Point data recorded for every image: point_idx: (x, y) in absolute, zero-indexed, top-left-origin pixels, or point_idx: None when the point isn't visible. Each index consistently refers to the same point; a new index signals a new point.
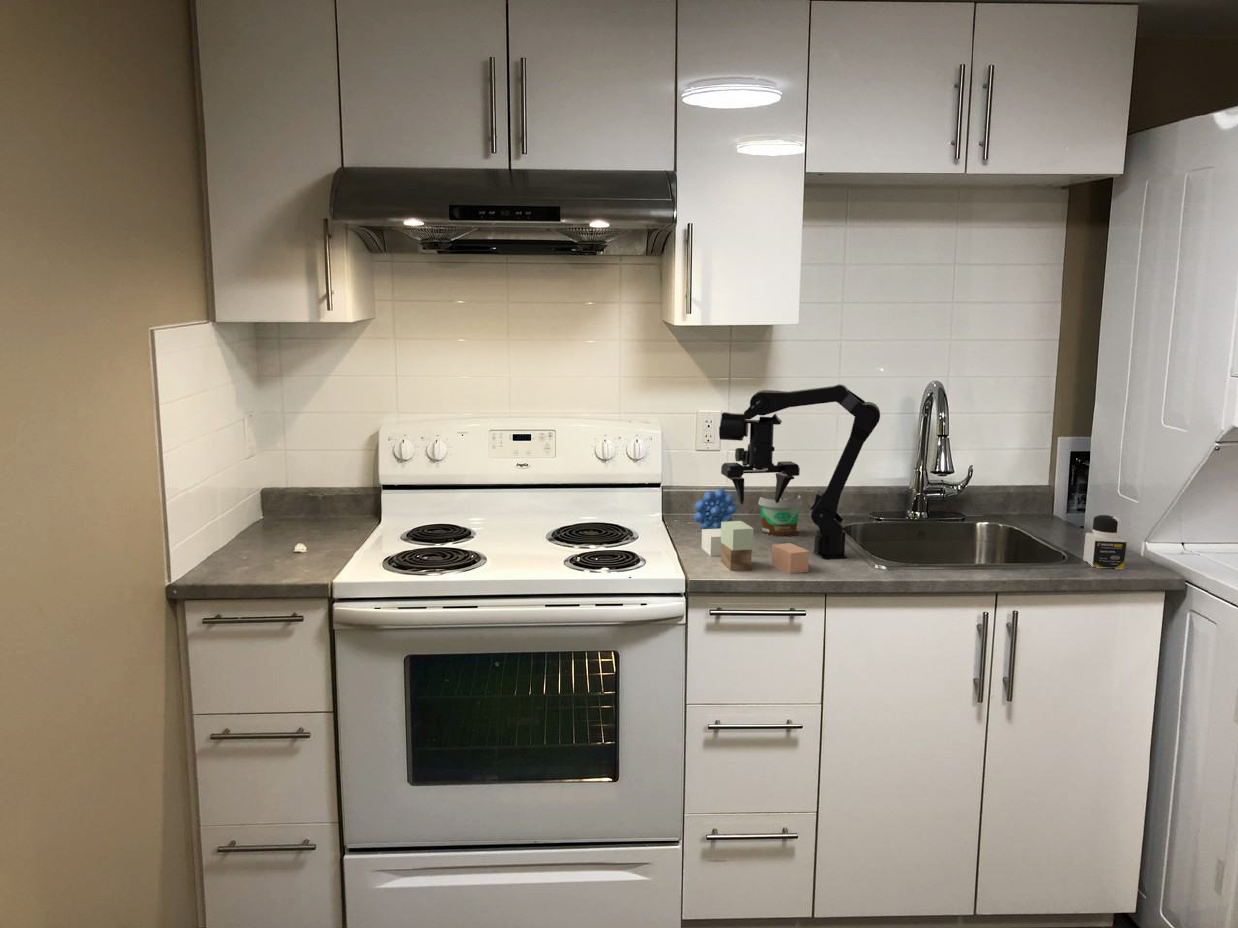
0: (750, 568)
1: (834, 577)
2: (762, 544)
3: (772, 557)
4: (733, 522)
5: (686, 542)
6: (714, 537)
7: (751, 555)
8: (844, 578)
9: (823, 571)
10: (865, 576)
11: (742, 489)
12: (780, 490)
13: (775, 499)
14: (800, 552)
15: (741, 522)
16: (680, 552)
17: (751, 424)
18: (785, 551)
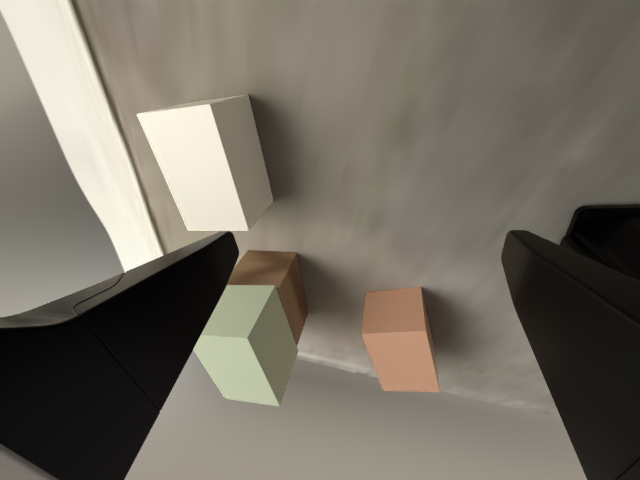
0: (306, 315)
1: (468, 383)
2: (427, 52)
3: (364, 308)
4: (222, 348)
5: (120, 6)
6: (199, 229)
7: (298, 340)
8: (486, 391)
9: (469, 353)
10: (546, 395)
11: (169, 371)
12: (557, 398)
13: (516, 246)
14: (411, 390)
15: (248, 354)
16: (138, 156)
17: None
18: (377, 373)
